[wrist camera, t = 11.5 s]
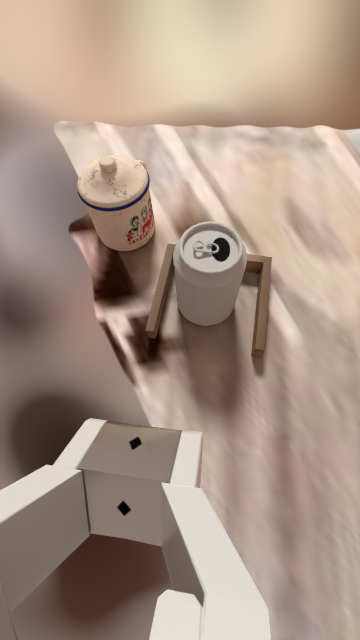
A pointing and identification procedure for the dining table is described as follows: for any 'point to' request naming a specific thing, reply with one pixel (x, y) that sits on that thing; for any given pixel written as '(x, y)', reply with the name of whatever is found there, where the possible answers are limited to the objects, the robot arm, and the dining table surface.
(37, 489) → the robot arm
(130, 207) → the teacup with lid
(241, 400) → the dining table surface
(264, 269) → the frame
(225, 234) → the can
